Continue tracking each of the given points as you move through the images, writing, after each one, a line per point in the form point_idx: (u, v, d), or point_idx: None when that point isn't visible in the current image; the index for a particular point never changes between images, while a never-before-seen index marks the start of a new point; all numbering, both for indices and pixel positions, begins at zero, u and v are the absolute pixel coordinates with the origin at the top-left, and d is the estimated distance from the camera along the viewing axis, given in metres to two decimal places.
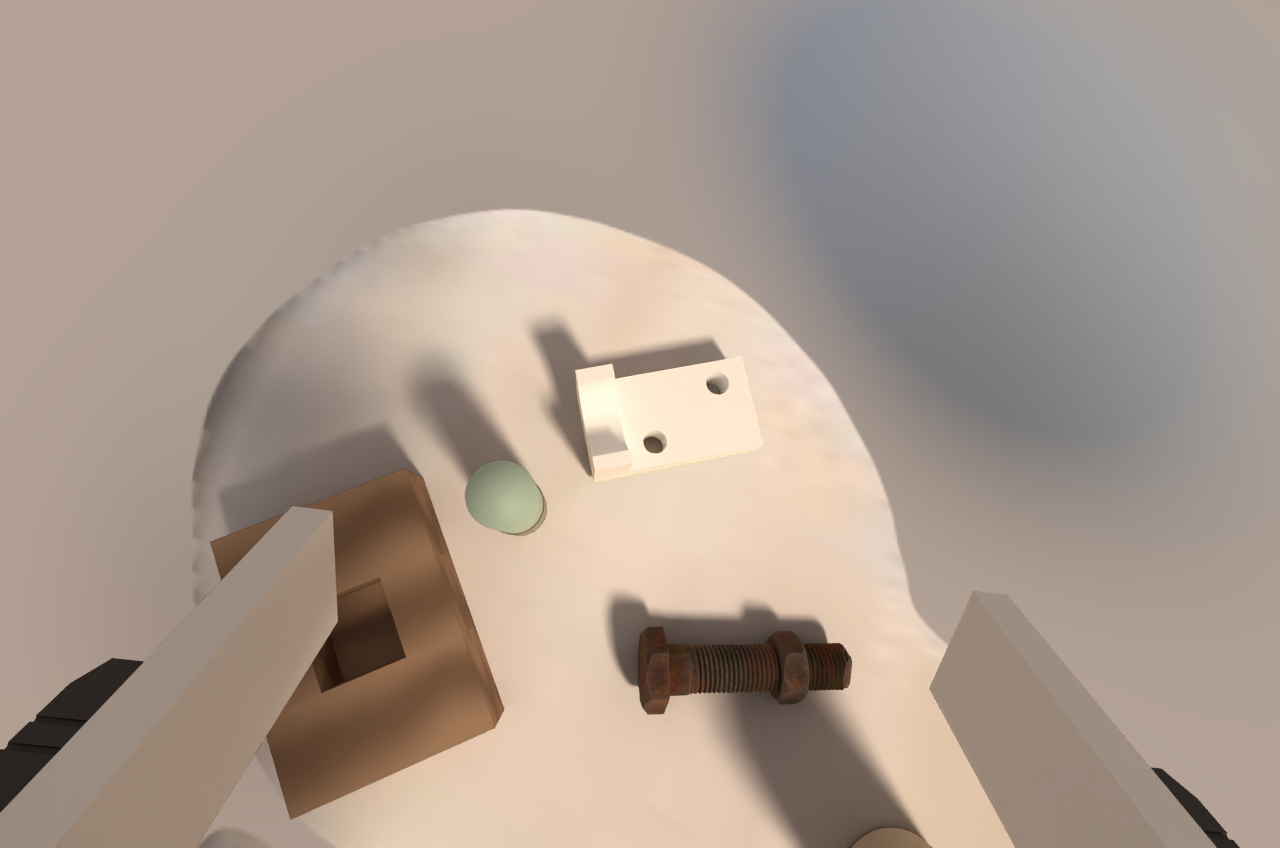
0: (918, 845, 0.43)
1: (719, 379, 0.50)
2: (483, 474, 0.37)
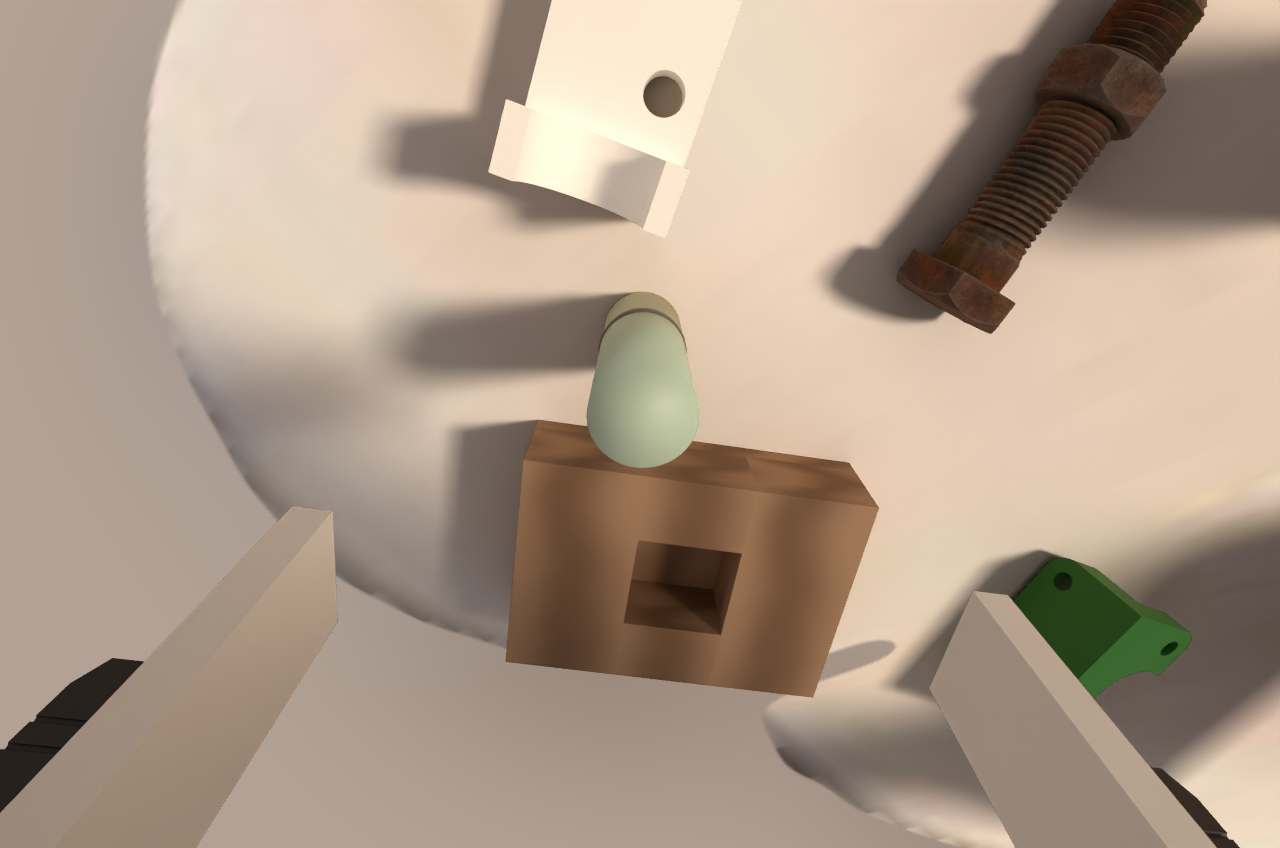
0: None
1: None
2: (600, 425, 0.23)
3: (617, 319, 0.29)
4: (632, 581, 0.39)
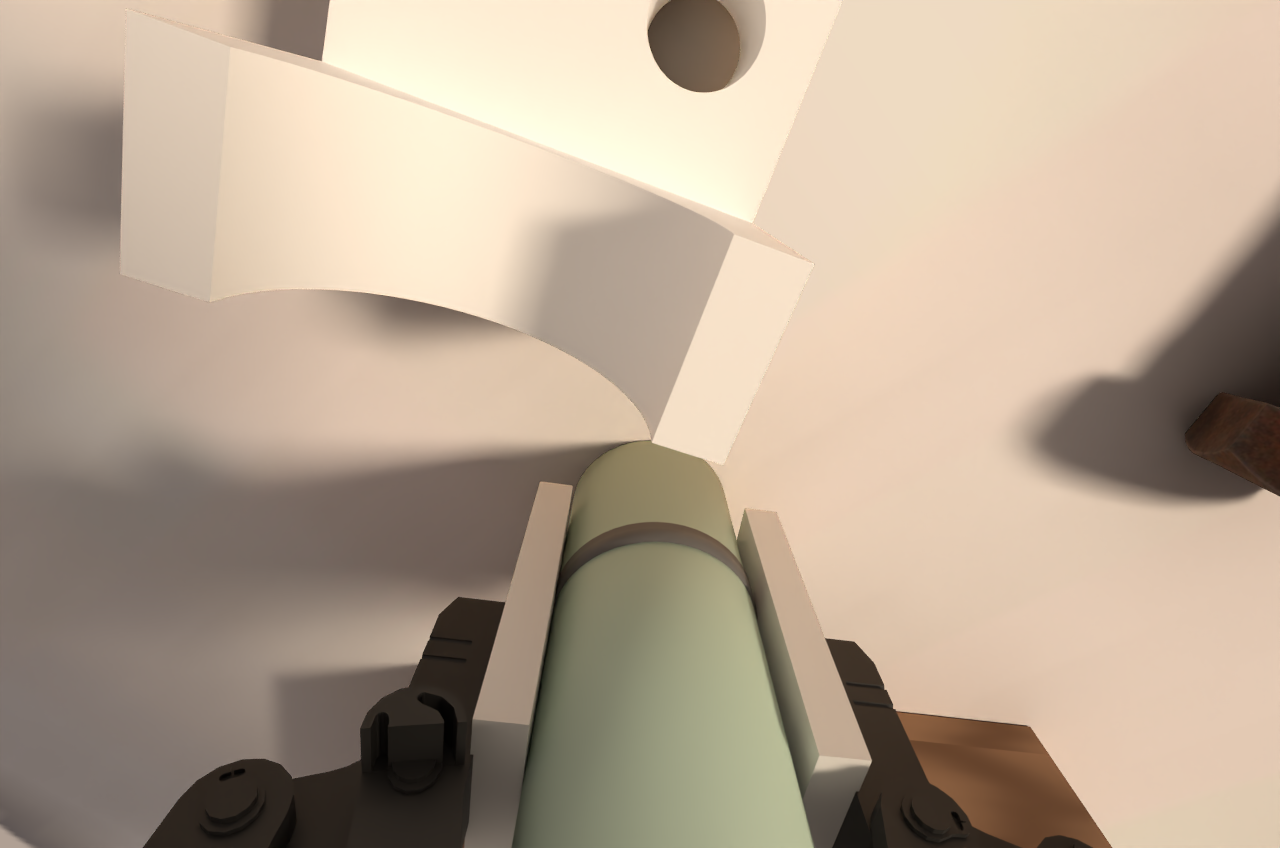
0: None
1: None
2: None
3: (593, 557, 0.12)
4: None
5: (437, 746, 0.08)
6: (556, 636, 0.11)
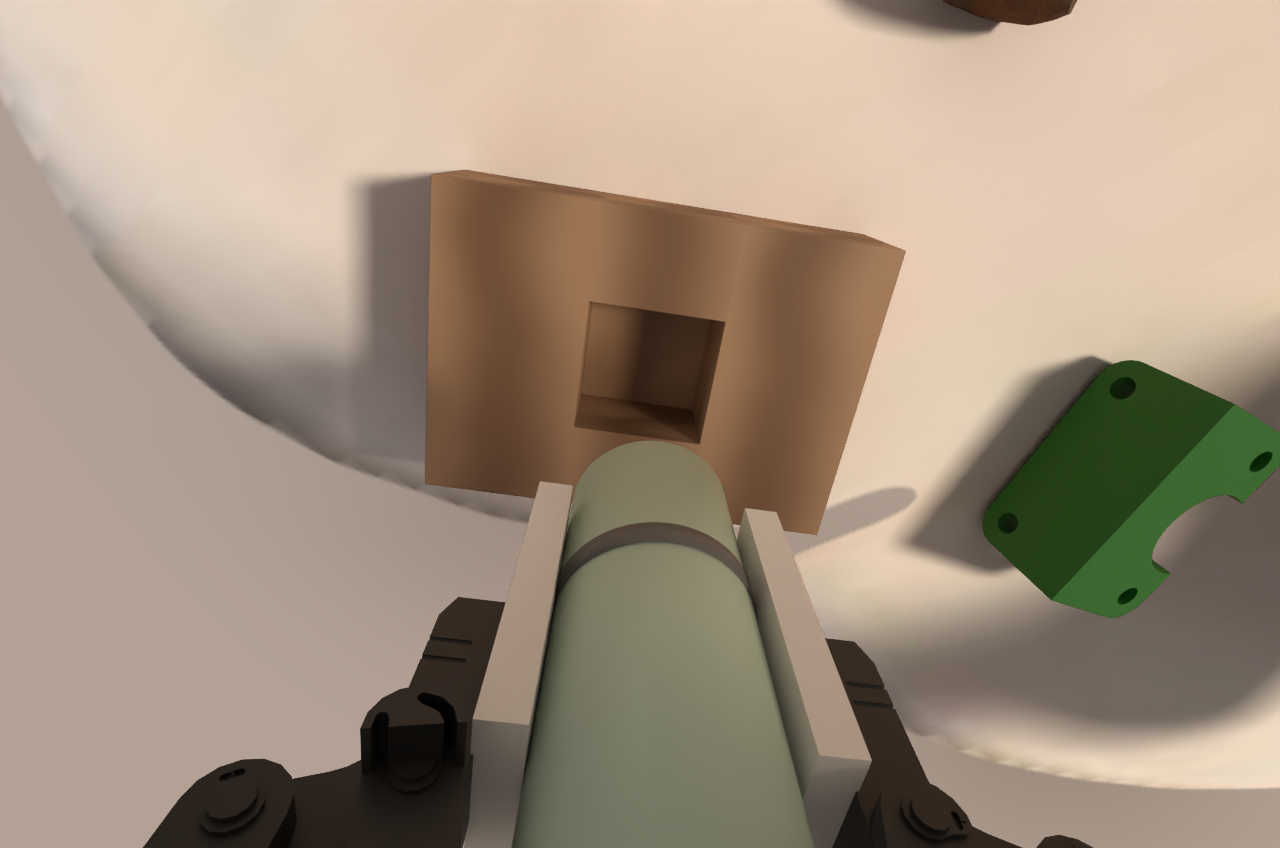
0: None
1: None
2: None
3: (592, 557, 0.12)
4: (590, 396, 0.31)
5: (438, 746, 0.08)
6: (556, 636, 0.11)
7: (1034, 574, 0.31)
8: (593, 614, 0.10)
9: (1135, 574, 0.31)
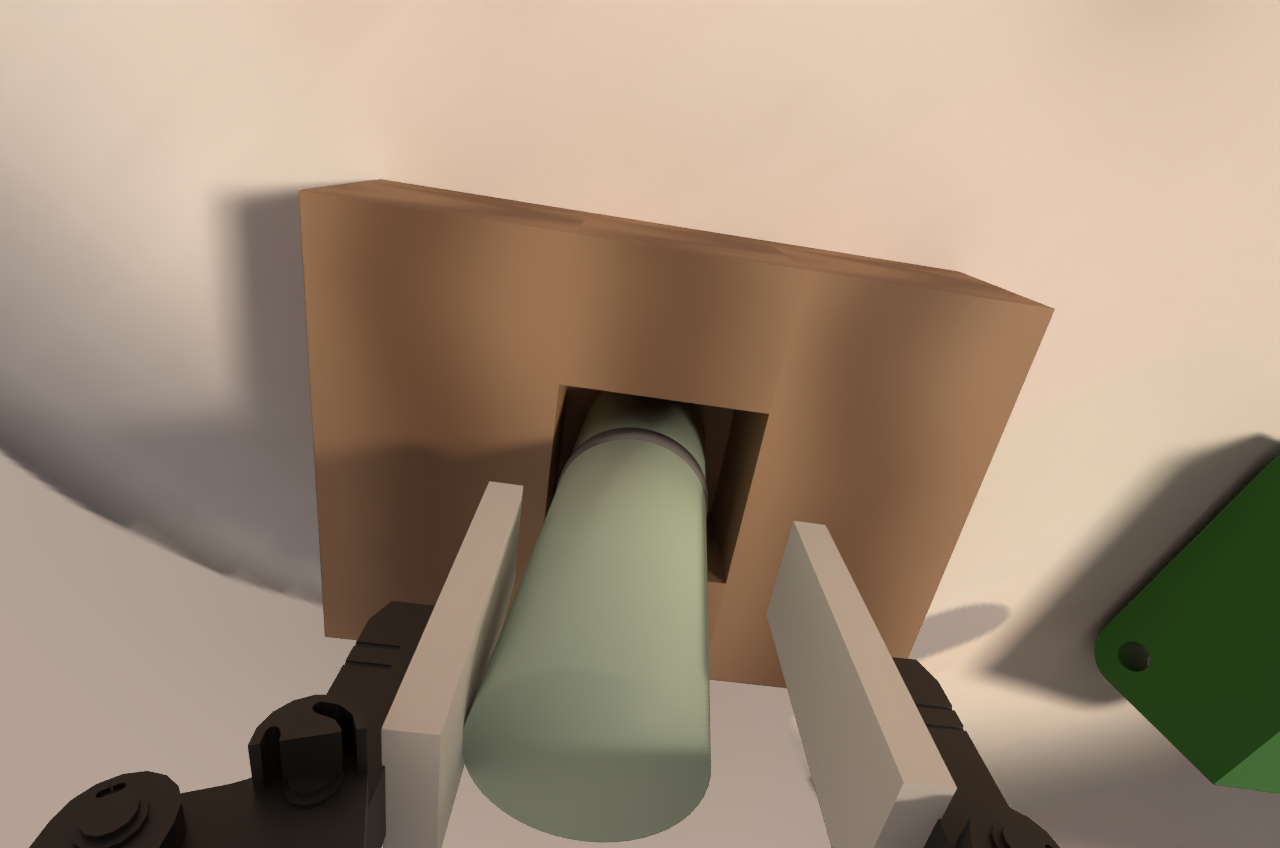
0: None
1: None
2: (492, 767, 0.10)
3: (586, 449, 0.16)
4: None
5: (336, 756, 0.07)
6: (555, 497, 0.15)
7: (1182, 740, 0.22)
8: (580, 479, 0.15)
9: None
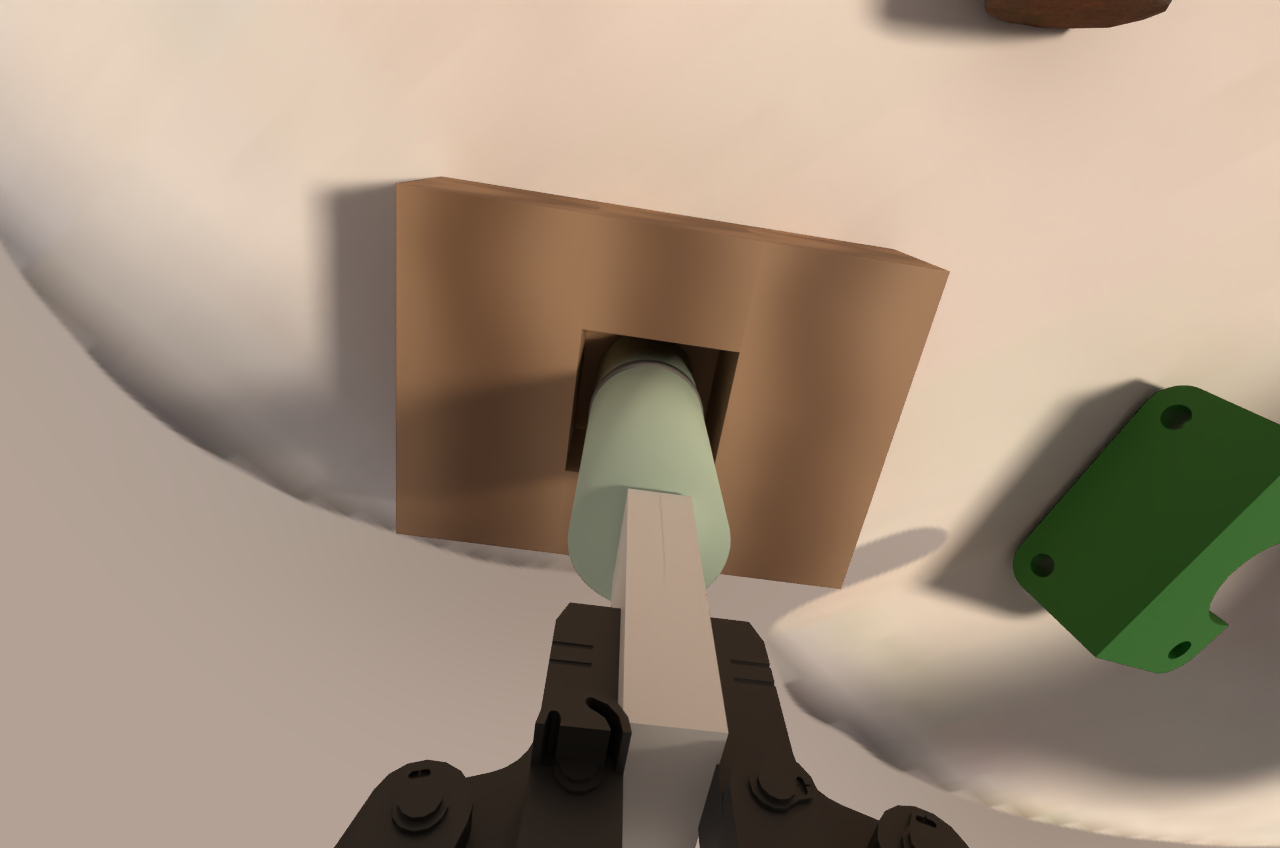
0: None
1: None
2: (587, 552, 0.16)
3: (614, 375, 0.22)
4: (584, 430, 0.27)
5: (601, 751, 0.08)
6: (595, 406, 0.21)
7: (1074, 626, 0.28)
8: (615, 390, 0.20)
9: (1190, 626, 0.27)
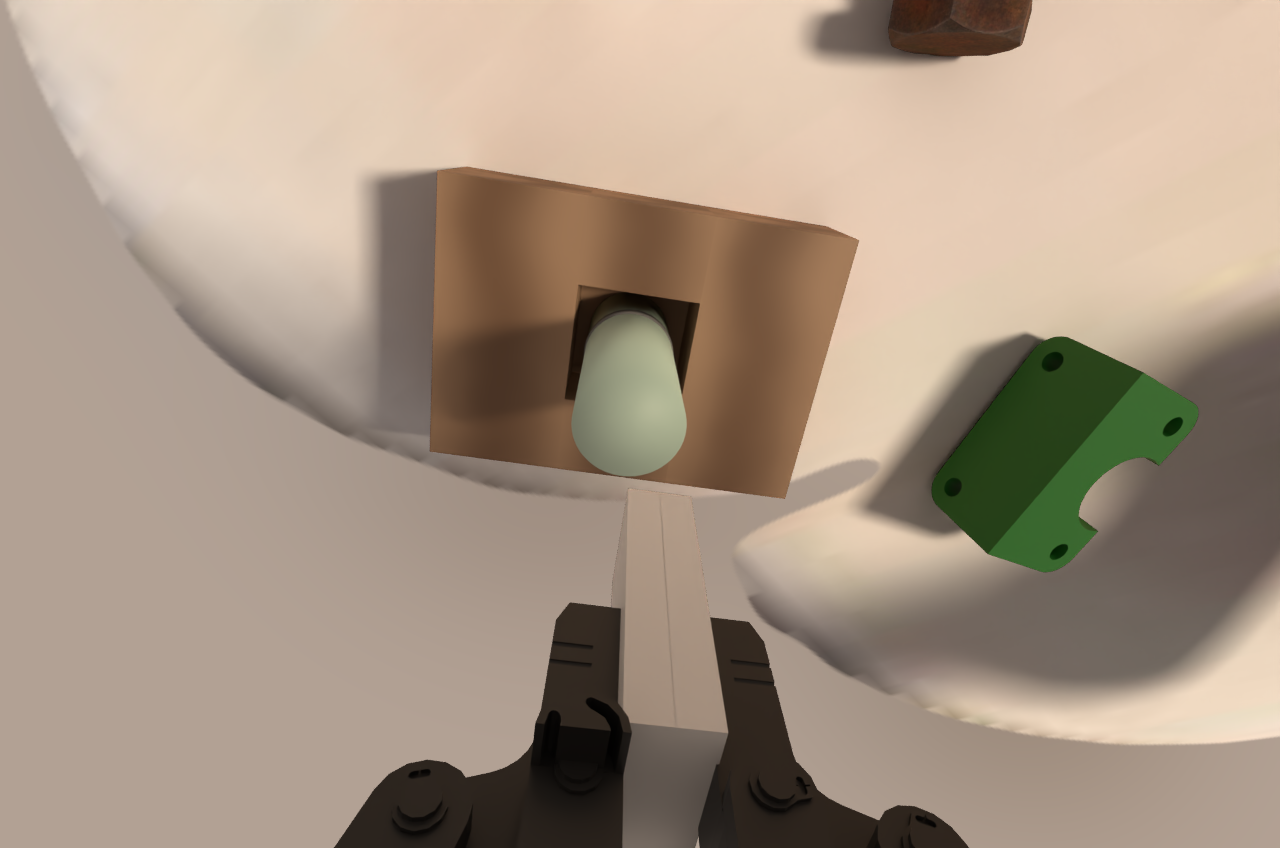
0: None
1: None
2: (585, 432, 0.22)
3: (604, 320, 0.28)
4: None
5: (602, 751, 0.08)
6: (589, 342, 0.27)
7: (974, 531, 0.34)
8: (605, 330, 0.27)
9: (1064, 531, 0.34)
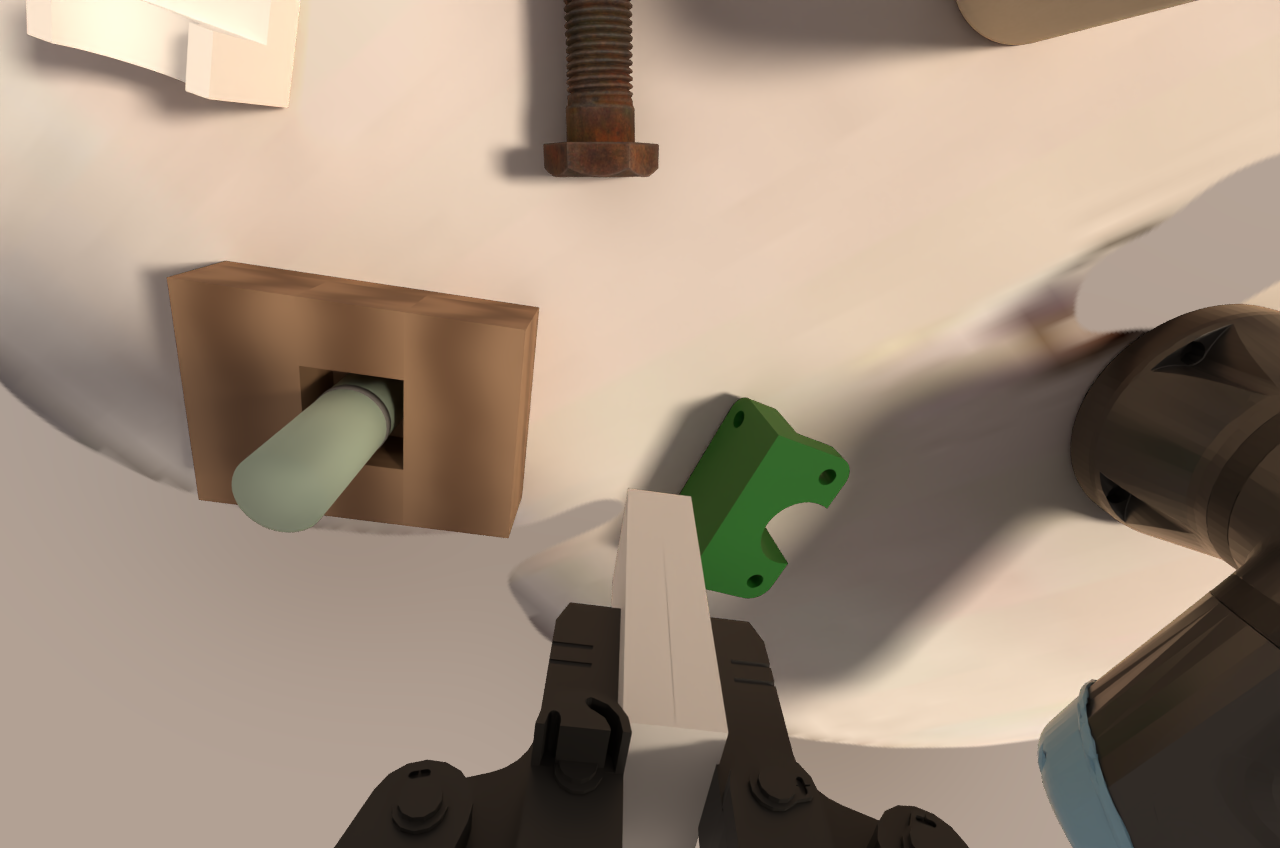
0: None
1: None
2: (245, 499, 0.28)
3: (322, 394, 0.34)
4: None
5: (601, 751, 0.08)
6: None
7: None
8: (311, 405, 0.32)
9: (754, 563, 0.39)
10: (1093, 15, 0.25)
